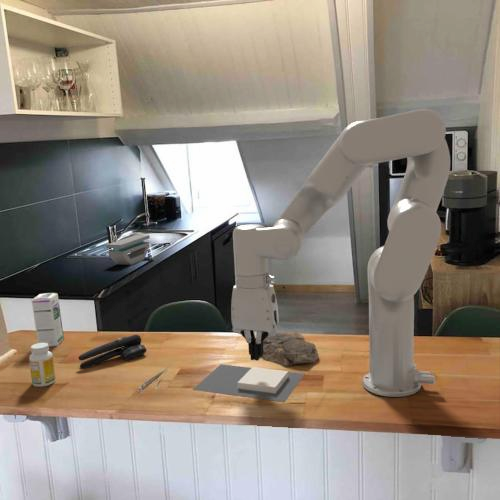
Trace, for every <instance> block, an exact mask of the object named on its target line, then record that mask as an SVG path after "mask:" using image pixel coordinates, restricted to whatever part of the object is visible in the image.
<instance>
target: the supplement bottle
mask: <svg viewBox="0 0 500 500" xmlns="http://www.w3.org/2000/svg"><path fill="white" fill-rule="evenodd" d="M49 350H50V346H48V343H38V342H37V343H35V344H32V345H31V346H30V352H31V354H30V355H29V357H28V361H29V368H30V376H31V381H32V382H31V383H32V384H31V385H33V386H34V387H36V388H43V387H47V386H50V385H53V384H54V383H55V381H56V373H55V364H54V357H53V353H52V352H51V351H49Z"/></svg>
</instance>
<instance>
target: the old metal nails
mask: <svg viewBox="0 0 500 500" xmlns="http://www.w3.org/2000/svg"><path fill="white" fill-rule="evenodd" d="M168 371H169V369H168V367H166V368H165V369H163V370H162V371H160V372H158V373H157V374H155V375H152V377H150V378H149V379H147V380H146V381H144V383H142V384H141V385H140V386H138V388H137V393H141V392H143V390H144V389H145V388H146V387H147V386H149V385H150V384H151V383H152V382H154V381H155V380H156V379H157V378H158V377H159V376H160V375H161V377H160V379H159V380H158V381H157V383H156V385H155V388H154V389H155V390H157V389H158V384H159V383H160V382H161V380H162V378H163V376H164V375H165V374H166V373H167V372H168Z"/></svg>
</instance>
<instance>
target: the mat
mask: <svg viewBox="0 0 500 500" xmlns="http://www.w3.org/2000/svg"><path fill="white" fill-rule="evenodd" d="M251 368H252V367H248V366H239V365H232V364H231V365H230V364H229V365H228V364H221V363H220V364H219V365H218V366H217V367H216V368H214V370H213V371H211V372H210V373H209V374H208V375H207V376H206V377H204V378H203V380H201V381H200V382H199V383H198V384H197V385H196V386H195V387H193V389H192V390H193V391H198V392H199V391H200V392H207V393H213V394H214V393H215V394H221V395H222V394H223V395H230V396H236V397H243V398H244V397H245V398H251V399H257V400H259V399H260V400H266V401H272V402H281V403H285V402H286V401H287V399H288V398H289V396H290V395H291V394H292V393H293V391H294V390H295V388H296V387H297V385H299V383H300V381H301V380H302V379H303V377H304V376H305V374H306V373H299V372H292V371H288V376H289V378H288V379H287V380H286V381H285V383H284V384H283V385H282V386H281V388H280V389H279V390H278V392H277V393H276V394H271V393H263V392H256V391H248V390H240V389H238V382H239V380H240V379H241V378H242V377H243V376H244V375H245V374H246V373H247V372H248V371H249V370H250V369H251Z"/></svg>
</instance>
